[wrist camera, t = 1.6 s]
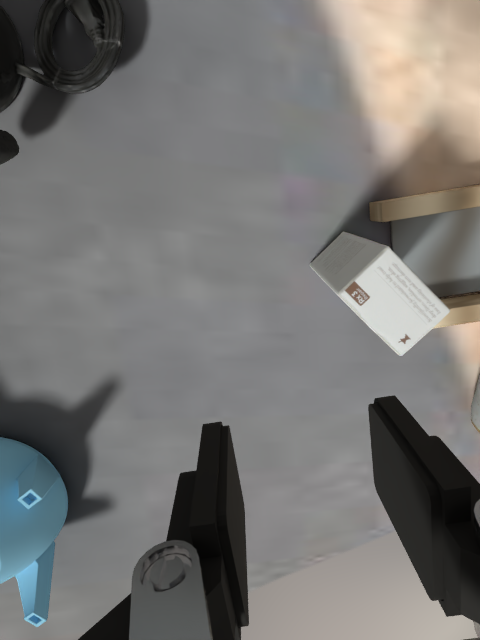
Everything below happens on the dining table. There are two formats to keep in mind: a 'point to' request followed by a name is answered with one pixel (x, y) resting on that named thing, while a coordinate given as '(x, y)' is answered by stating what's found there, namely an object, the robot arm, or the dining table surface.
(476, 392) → the ceramic mug
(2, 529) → the teapot
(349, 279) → the skincare box
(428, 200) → the wooden tray
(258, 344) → the dining table surface
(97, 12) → the black and silver appliance
